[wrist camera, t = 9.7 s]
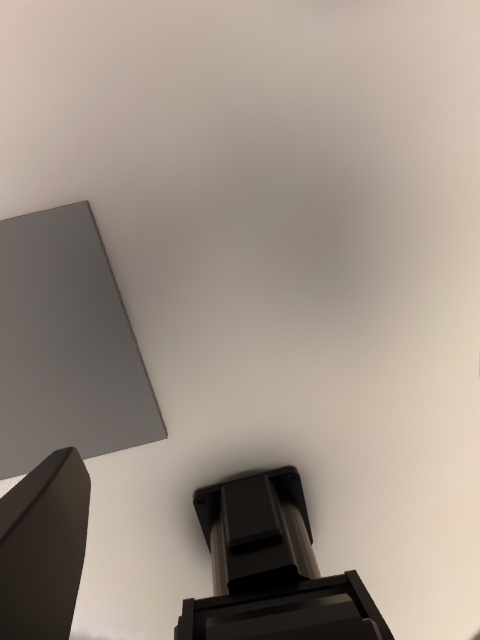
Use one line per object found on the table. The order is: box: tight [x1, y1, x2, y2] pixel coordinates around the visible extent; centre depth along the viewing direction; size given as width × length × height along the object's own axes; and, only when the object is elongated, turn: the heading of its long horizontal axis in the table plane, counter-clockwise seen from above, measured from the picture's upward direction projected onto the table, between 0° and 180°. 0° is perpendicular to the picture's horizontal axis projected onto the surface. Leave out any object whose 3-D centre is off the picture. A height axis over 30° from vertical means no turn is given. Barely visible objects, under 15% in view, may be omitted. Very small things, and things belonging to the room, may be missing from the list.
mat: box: [0, 200, 168, 480], centre depth 21 cm, size 13×13×1 cm
